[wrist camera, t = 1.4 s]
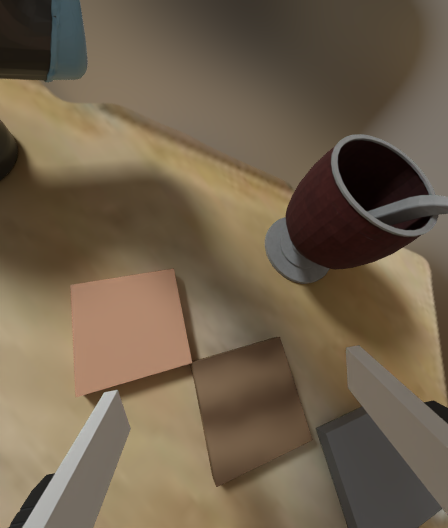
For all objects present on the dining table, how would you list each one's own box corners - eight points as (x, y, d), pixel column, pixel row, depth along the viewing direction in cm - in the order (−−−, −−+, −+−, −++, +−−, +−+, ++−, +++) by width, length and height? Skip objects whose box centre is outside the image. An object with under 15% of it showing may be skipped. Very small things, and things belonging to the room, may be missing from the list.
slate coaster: (315, 428, 29) (326, 433, 27) (382, 397, 32) (395, 399, 31) (355, 549, 25) (370, 564, 23) (425, 498, 29) (442, 508, 27)
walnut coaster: (190, 362, 28) (192, 362, 26) (273, 337, 32) (279, 336, 30) (212, 477, 24) (216, 487, 23) (303, 434, 28) (312, 440, 26)
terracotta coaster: (76, 289, 28) (70, 284, 26) (173, 273, 32) (173, 268, 30) (82, 393, 24) (75, 397, 22) (190, 362, 28) (192, 362, 26)
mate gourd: (245, 255, 35) (329, 156, 17) (280, 201, 41) (370, 85, 23) (325, 311, 35) (494, 268, 17) (349, 248, 41) (493, 169, 23)
